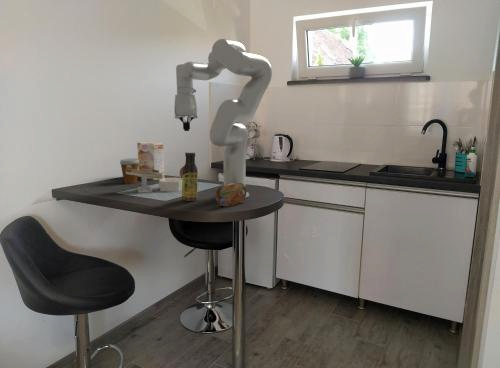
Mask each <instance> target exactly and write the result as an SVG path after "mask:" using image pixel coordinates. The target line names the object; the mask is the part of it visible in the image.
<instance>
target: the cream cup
mask: <svg viewBox="0 0 500 368" xmlns="http://www.w3.org/2000/svg"><path fill="white" fill-rule="evenodd" d="M158 190H159V191H160V192H180V191H182V178H181V177H164V178H163V179H158Z"/></svg>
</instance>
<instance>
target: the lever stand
mask: <svg viewBox="0 0 500 368" xmlns="http://www.w3.org/2000/svg"><path fill="white" fill-rule="evenodd" d="M140 179H141V180H140V181H141V186H137V187H136V188H137V192H138V194H141V193H142V194H143V193H153V188H152V187H151V186H150V185H149V186H148V178H147V174H142V176H141V177H140Z"/></svg>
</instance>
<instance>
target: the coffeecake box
mask: <svg viewBox="0 0 500 368" xmlns="http://www.w3.org/2000/svg"><path fill="white" fill-rule="evenodd" d="M137 159H138V161H139V163H138V170H143V171H150V172H153V170H159V173H162V175H163V178H165V156H164V143H160V142H151V141H149V142H148V141H143V142H142V141H140V142H137ZM138 178H141V176H138ZM163 178H162V179H163ZM147 180H153V181H155V180H156V181H159V178H152V177H147Z"/></svg>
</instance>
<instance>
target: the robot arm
mask: <svg viewBox="0 0 500 368" xmlns="http://www.w3.org/2000/svg"><path fill="white" fill-rule="evenodd" d="M207 61H208V62H207V63H203V62H197V61H195V62H194V61H187V62H184V63H181V64H178V65H176V68H175V74H176V75H175V76H176V94H175V96H174V119H177V120H180V122H182V129H183V130H184V132H189V131H190V129H191V125H190V124H191V122H192V121H193V120H195V119H198V106H197V101H196V100H197V99H196V95H195V94H194V93H197V90H196V89H194V84H193V83H194V80H195V81H196V80H198V81H210V80H212V79H214V78H218V76H219V75H221V74H222V71H224V70H225V69H227V70H228V71H229V72H231V73H232V74H234V75H237V76H242V77H243V76H244V77H251V78H250V79H249V80H248V81H247V82H246V84H244V86H243V88H242V89H241V92H240V94H239V97H238V98H237V99H235V98H234V99H233V98H231V99H230V98H229V99H225V100H224V101H222V102H221V103H220V105H219V106H218V109H217V111H216V114H215V115H214V116H215V117H214V119H213V122H212V124H211V126H210V129H209V130H210V131H209V141H210V142H211V144H213V146H215V147H225V149H224V153H223V185H227V184H232V183H242V184H243V185H244V186H245V187H246V168H247V167H246V160H247V159H246V157H247V146H248V140H249V131H248V128H247V127H246V125H244V124H248V123H250V122H251V121H252V120H253V118H254V117H255V114H256V112H257V110H258V108H259V106H260V103H261V101H262V99H263V97H264V95H265V93H266V91H267V89H268V87H269V85H270V83H271V80H272V77H273V70H272V65H271V64H270V62H269V60H268V59H267V58H265V56H261V55H259V54H255V53H248V52H247V51H246V48H245V46H244V45H243V43H241V42H239V41H235V40H231V39H226V38H220V39H217V40H216V41H215V42H214V43H213V45H212V48H211V52H210V53H209V54H208V58H207ZM186 118H187V119H186ZM249 196H250V194H249V192H248V191H246V197H245V199H246V198H248V197H249Z"/></svg>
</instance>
